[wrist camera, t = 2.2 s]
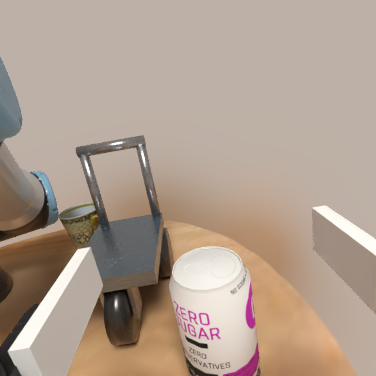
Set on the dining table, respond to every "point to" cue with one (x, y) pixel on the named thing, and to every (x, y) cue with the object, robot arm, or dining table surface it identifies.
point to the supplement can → (215, 313)
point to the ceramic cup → (80, 223)
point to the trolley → (126, 248)
